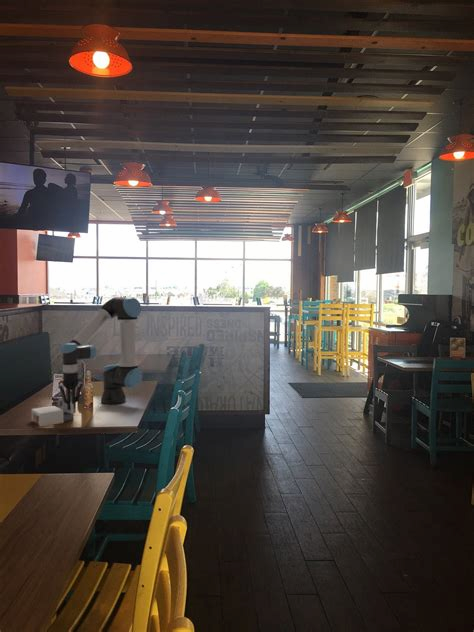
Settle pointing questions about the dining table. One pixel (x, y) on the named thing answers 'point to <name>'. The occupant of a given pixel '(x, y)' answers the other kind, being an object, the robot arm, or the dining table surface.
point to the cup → (64, 405)
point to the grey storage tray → (67, 416)
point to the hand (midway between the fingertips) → (71, 415)
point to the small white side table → (47, 415)
